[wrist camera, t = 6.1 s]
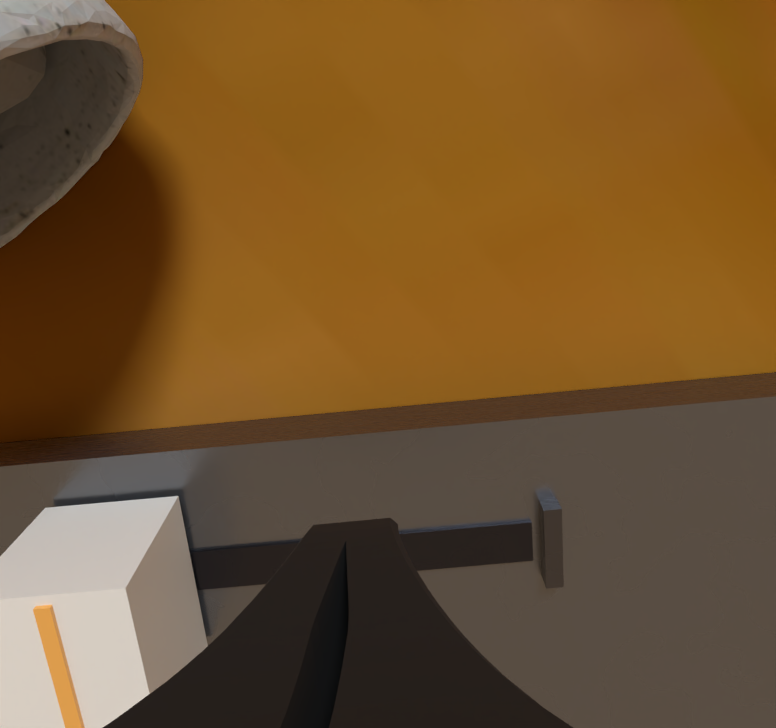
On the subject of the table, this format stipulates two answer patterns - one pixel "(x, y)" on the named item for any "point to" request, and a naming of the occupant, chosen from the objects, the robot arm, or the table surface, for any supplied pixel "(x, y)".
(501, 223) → the table surface
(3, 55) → the ceramic mug
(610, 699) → the console
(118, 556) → the fader
